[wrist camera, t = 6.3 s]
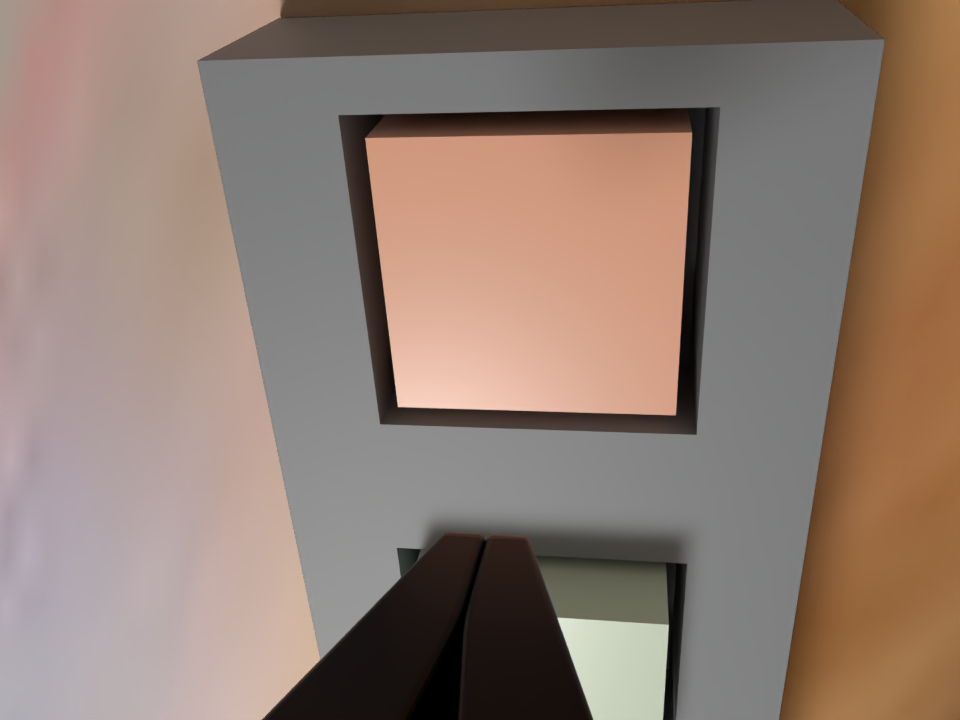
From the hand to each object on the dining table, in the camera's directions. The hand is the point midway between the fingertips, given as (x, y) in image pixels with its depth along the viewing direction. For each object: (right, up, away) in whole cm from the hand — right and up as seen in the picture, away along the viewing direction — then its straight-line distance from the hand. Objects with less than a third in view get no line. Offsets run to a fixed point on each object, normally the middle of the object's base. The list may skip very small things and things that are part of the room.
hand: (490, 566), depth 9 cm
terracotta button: (+1, +4, +4) cm, 6 cm away
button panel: (+1, -1, +9) cm, 9 cm away
